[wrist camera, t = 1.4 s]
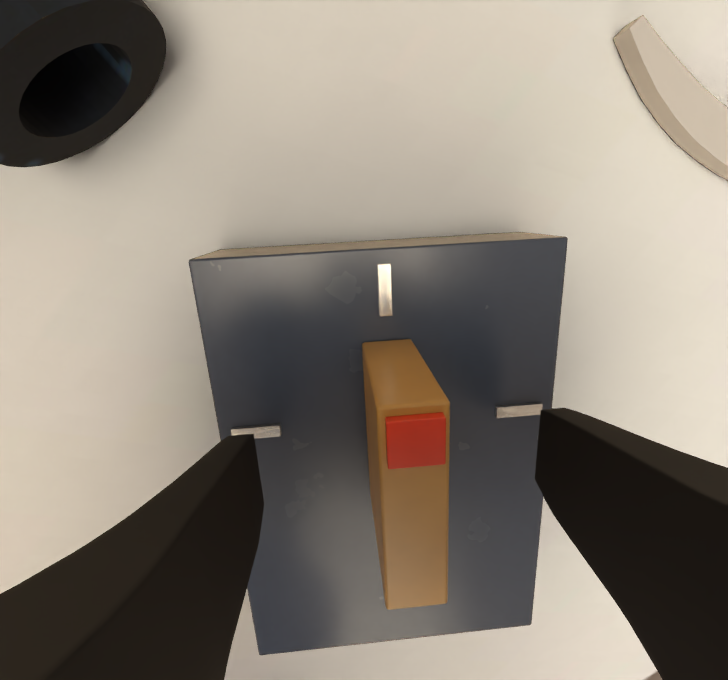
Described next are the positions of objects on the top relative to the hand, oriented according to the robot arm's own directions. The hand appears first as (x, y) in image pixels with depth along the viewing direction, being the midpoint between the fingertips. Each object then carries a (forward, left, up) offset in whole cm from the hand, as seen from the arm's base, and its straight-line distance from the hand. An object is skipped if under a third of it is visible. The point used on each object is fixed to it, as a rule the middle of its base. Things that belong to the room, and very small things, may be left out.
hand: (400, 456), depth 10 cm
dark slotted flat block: (-2, 0, -5) cm, 5 cm away
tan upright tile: (0, 0, -2) cm, 2 cm away
